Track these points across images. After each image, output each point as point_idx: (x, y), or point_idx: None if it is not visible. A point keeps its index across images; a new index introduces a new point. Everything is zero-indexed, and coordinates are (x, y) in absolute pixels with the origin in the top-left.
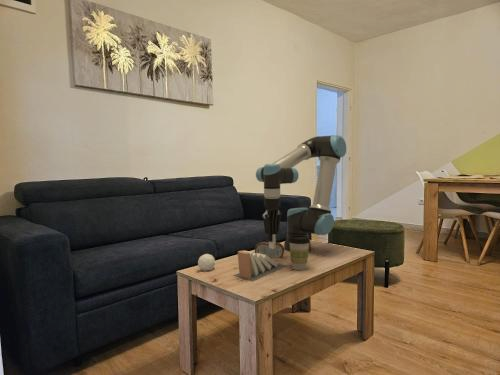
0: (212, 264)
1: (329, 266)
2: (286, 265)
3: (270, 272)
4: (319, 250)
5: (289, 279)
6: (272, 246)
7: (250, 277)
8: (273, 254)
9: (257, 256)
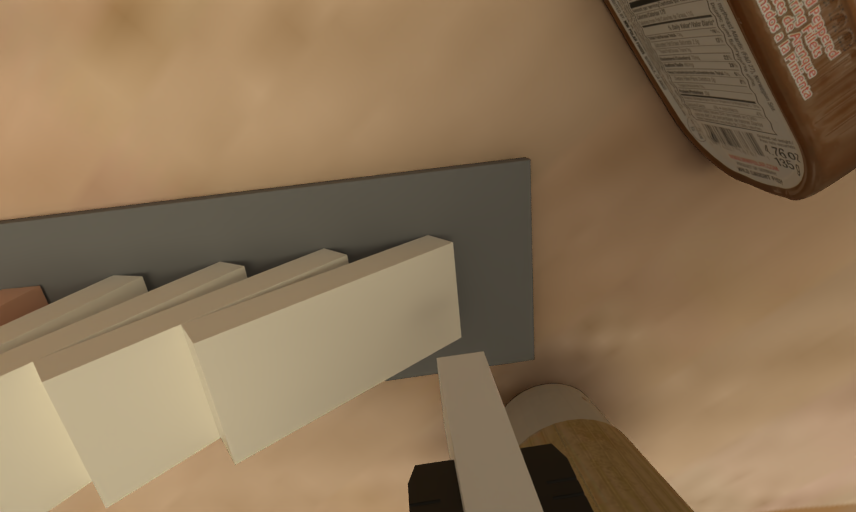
0: None
1: (721, 497)
2: (531, 347)
3: None
4: None
5: (336, 502)
6: (446, 433)
7: None
8: (689, 94)
9: (54, 505)
